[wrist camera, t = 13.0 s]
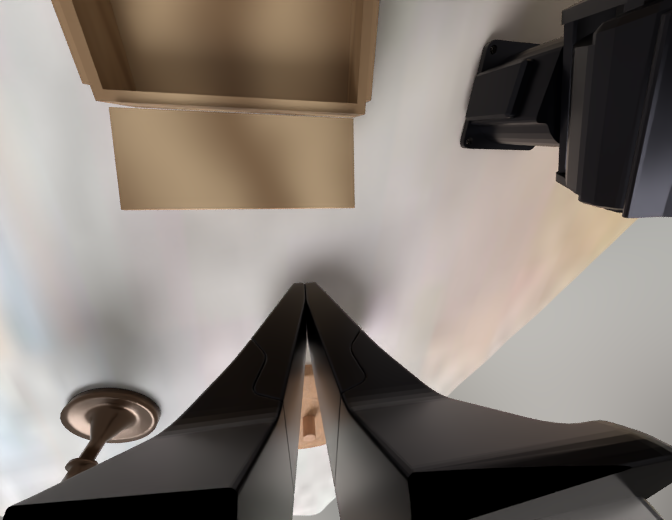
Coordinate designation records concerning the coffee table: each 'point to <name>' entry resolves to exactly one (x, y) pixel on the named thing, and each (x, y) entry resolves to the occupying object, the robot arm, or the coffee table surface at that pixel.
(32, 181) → the coffee table surface
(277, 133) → the flap
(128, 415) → the candlestick
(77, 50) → the carton
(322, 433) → the lidded jar
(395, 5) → the coffee table surface
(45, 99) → the coffee table surface
